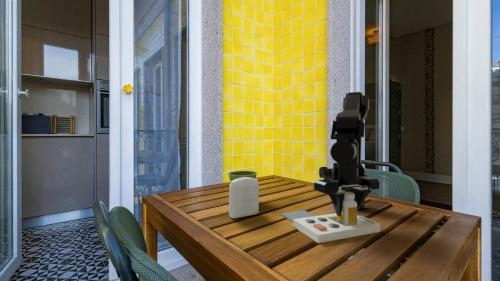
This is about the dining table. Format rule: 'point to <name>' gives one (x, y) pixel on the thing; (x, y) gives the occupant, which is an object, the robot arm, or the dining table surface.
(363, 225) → the socket board
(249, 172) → the plant pot
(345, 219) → the supplement bottle
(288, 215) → the slate mat
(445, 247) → the dining table surface
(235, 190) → the white rounded slab
